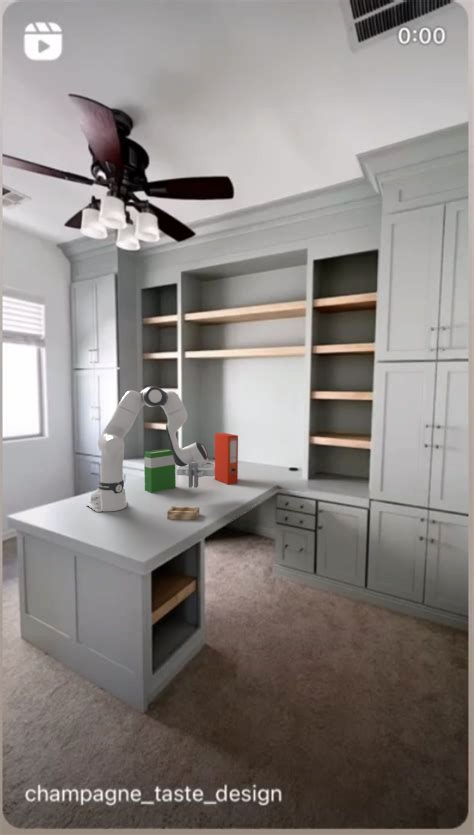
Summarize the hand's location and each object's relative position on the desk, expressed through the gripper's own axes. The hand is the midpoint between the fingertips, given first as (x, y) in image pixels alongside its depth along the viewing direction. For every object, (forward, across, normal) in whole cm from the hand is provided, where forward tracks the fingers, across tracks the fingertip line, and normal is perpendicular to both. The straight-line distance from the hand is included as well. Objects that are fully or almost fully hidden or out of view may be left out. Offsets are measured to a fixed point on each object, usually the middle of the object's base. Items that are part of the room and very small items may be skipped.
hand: (193, 474), depth 189 cm
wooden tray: (+9, -3, +19) cm, 21 cm away
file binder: (-63, +9, +19) cm, 66 cm away
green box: (-39, -29, +19) cm, 52 cm away
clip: (-1, 0, +6) cm, 7 cm away
